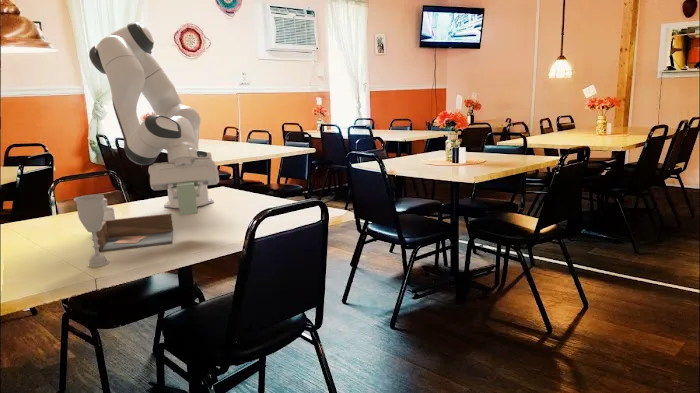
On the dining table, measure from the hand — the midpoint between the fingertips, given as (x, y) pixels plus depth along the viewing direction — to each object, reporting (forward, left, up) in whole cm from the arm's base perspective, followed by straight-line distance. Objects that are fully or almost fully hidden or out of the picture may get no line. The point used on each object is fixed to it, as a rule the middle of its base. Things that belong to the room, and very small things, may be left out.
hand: (186, 197), depth 157 cm
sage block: (-1, 0, -5) cm, 5 cm away
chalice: (+16, -24, -13) cm, 31 cm away
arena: (-3, -16, -13) cm, 20 cm away
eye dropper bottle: (-21, -27, -13) cm, 36 cm away
